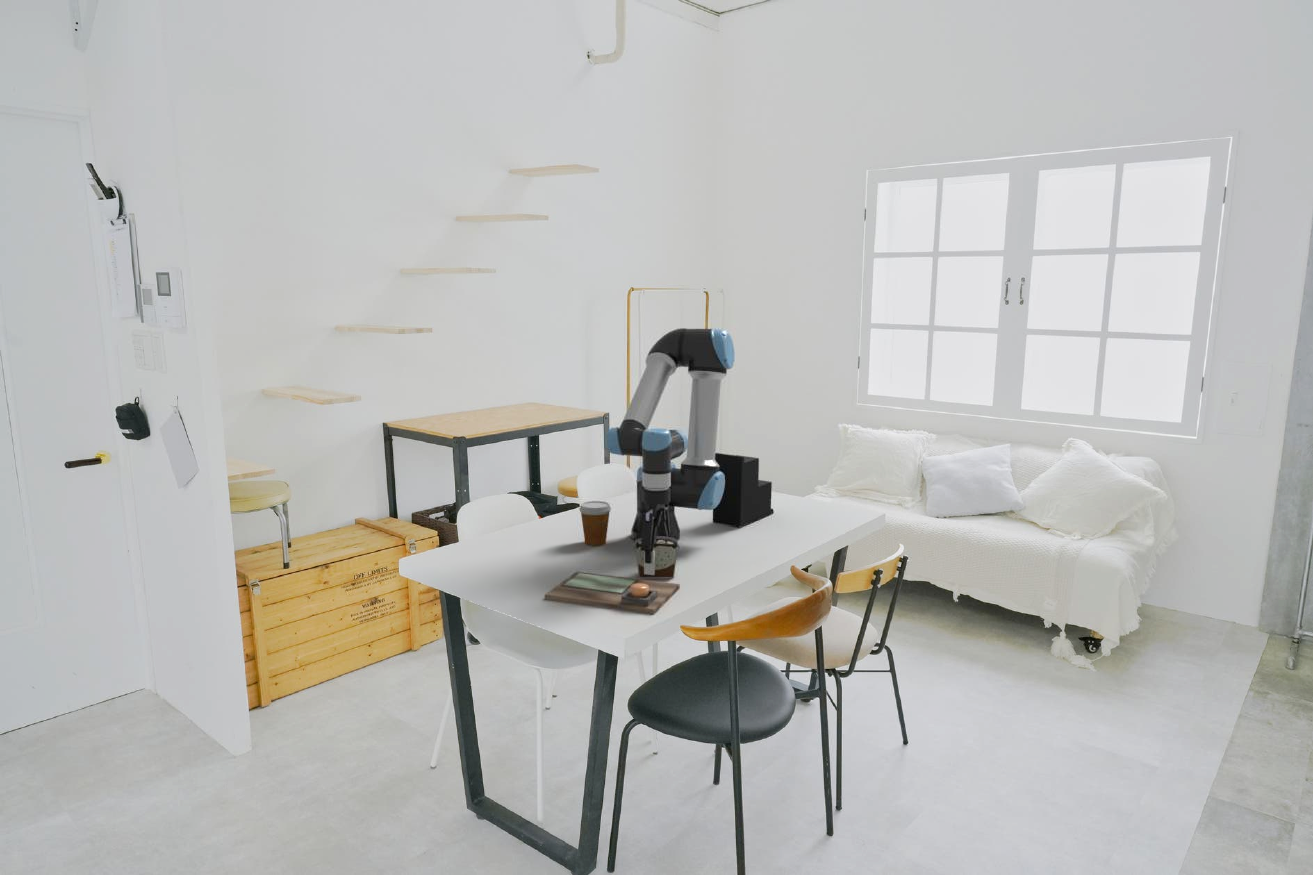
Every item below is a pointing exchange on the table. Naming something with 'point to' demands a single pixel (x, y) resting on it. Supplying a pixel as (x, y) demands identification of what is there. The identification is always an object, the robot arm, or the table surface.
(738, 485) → the black stepped block
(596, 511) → the disposable coffee cup
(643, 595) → the button
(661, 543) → the food container
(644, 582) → the picture board
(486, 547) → the table surface
